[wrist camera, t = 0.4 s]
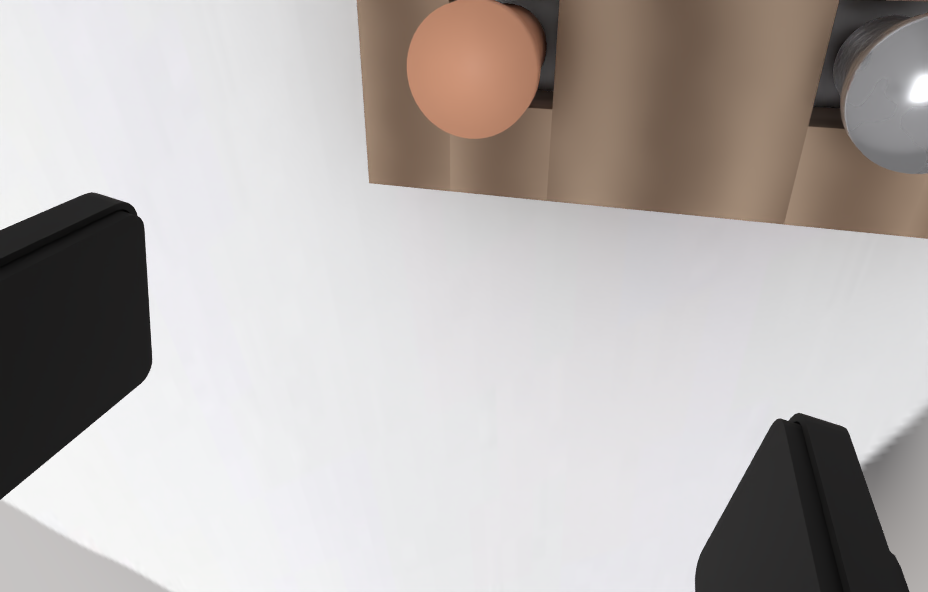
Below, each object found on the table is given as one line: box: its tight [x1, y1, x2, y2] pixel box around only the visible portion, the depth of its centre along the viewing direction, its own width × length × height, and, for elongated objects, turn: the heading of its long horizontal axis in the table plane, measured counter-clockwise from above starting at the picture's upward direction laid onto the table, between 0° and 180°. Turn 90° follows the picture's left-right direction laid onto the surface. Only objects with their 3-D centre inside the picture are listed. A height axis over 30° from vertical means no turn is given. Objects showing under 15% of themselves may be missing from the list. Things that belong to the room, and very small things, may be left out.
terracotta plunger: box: [407, 0, 547, 139], centre depth 29 cm, size 5×5×6 cm
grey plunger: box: [833, 13, 928, 174], centre depth 25 cm, size 5×5×6 cm
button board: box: [357, 0, 928, 239], centre depth 31 cm, size 30×14×4 cm, turn 90°
